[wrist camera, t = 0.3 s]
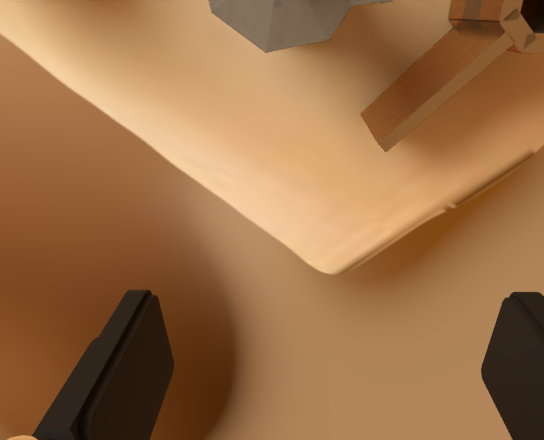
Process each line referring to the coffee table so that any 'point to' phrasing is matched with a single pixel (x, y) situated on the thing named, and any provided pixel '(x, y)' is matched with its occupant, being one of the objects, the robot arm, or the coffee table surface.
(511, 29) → the hinge
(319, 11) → the coffeepot
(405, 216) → the coffee table surface
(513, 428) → the robot arm
